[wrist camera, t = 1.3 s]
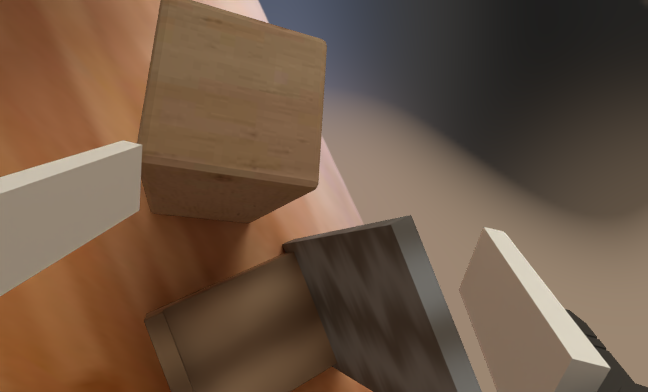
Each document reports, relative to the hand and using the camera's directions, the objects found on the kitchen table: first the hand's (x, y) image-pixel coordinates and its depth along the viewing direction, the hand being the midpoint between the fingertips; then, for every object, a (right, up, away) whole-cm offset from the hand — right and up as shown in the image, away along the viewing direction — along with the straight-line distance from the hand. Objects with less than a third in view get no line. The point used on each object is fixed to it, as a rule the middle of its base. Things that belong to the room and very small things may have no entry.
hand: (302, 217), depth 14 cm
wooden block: (-11, +3, +26) cm, 28 cm away
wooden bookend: (-7, -13, +24) cm, 28 cm away
